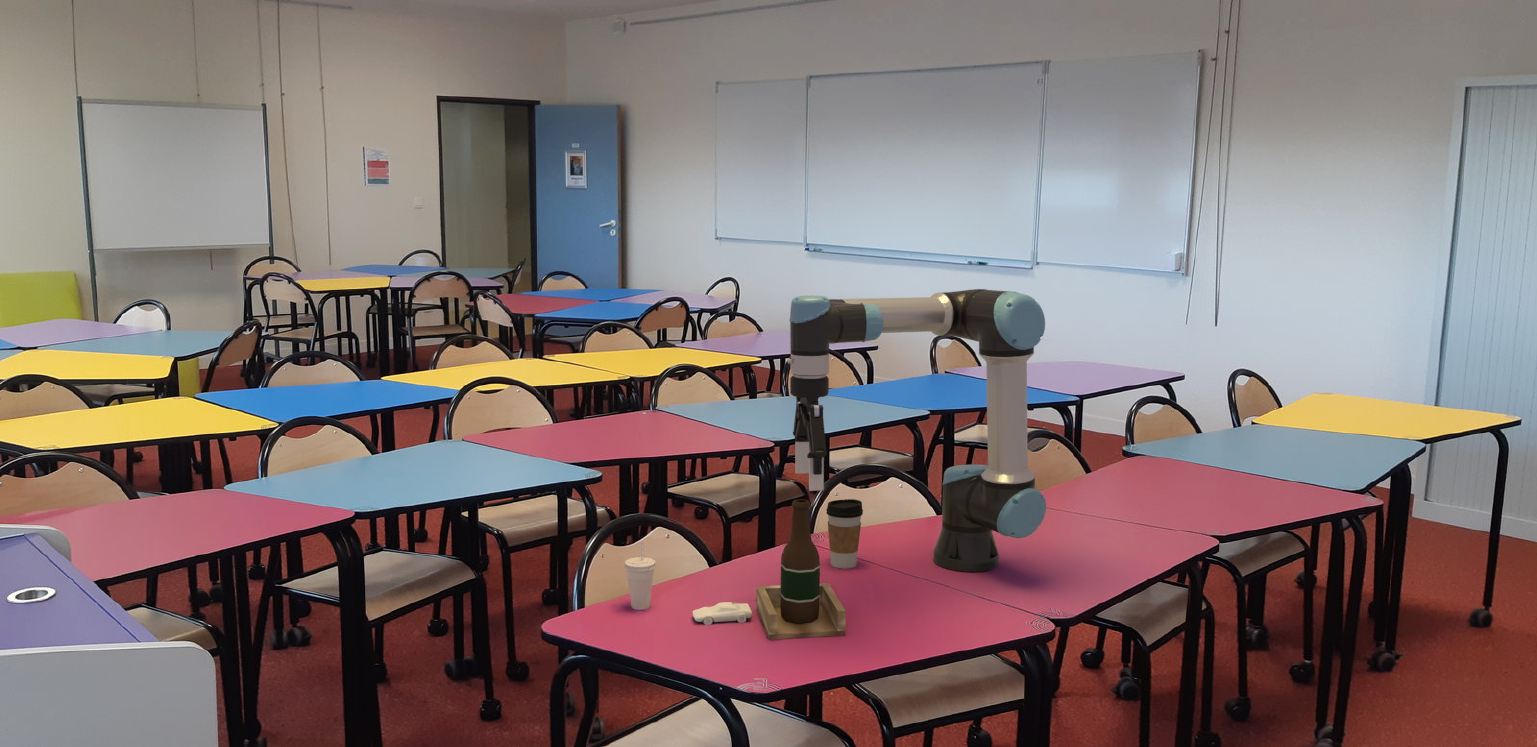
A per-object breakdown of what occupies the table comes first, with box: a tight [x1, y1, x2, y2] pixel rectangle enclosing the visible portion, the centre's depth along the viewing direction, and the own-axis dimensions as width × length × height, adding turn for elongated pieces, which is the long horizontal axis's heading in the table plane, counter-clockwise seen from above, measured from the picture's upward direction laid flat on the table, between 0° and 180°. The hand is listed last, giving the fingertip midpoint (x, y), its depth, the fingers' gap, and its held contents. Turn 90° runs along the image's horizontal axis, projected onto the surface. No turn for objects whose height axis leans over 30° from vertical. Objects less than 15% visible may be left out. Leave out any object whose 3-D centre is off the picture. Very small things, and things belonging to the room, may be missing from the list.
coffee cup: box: [826, 498, 864, 570], centre depth 254 cm, size 8×8×15 cm
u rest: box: [755, 582, 847, 641], centre depth 219 cm, size 15×16×5 cm
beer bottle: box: [780, 498, 821, 624], centre depth 217 cm, size 8×8×24 cm
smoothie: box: [624, 539, 657, 611], centre depth 226 cm, size 6×6×14 cm
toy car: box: [692, 601, 753, 626], centre depth 220 cm, size 6×12×3 cm, turn 101°
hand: (808, 481), depth 217 cm, fingers open, 13 cm apart
